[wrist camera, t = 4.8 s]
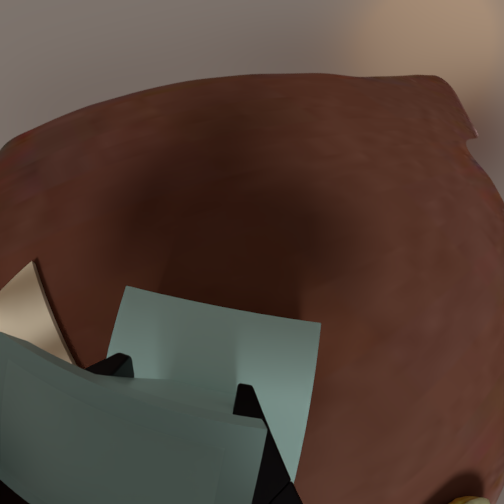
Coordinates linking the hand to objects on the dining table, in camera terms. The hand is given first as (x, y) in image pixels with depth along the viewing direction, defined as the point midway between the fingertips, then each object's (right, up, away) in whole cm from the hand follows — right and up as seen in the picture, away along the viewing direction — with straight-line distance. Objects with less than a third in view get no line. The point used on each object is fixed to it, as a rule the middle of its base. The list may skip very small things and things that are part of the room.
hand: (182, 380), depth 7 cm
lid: (0, -4, +5) cm, 7 cm away
